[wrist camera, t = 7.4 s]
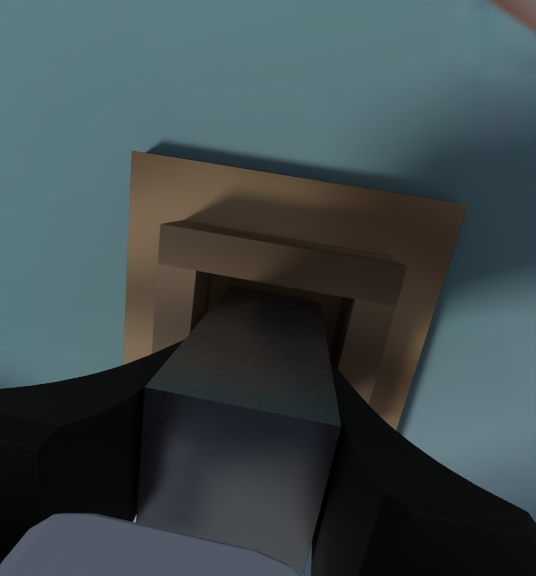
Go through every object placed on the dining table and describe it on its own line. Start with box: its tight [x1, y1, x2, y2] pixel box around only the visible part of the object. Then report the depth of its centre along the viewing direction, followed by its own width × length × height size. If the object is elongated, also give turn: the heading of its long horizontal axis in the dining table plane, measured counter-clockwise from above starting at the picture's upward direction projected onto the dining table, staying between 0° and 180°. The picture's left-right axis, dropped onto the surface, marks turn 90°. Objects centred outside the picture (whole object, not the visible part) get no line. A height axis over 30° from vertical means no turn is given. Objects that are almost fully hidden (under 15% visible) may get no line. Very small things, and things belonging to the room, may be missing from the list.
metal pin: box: [136, 287, 341, 573], centre depth 11 cm, size 4×4×8 cm
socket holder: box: [123, 151, 468, 430], centre depth 15 cm, size 14×14×4 cm
